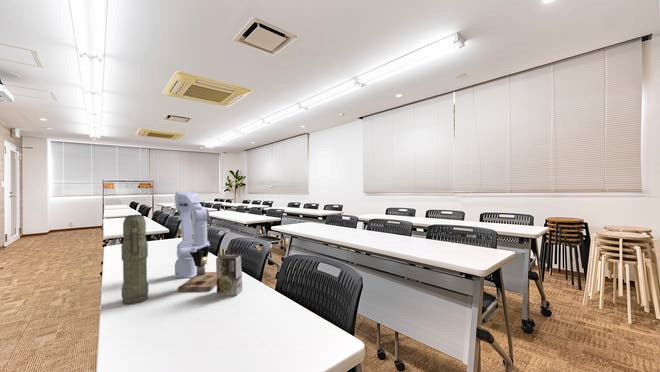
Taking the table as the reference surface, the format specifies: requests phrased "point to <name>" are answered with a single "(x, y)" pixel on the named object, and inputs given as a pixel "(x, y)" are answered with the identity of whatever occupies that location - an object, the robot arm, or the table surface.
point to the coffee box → (229, 274)
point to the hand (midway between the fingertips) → (200, 264)
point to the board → (200, 283)
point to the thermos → (134, 260)
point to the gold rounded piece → (202, 266)
